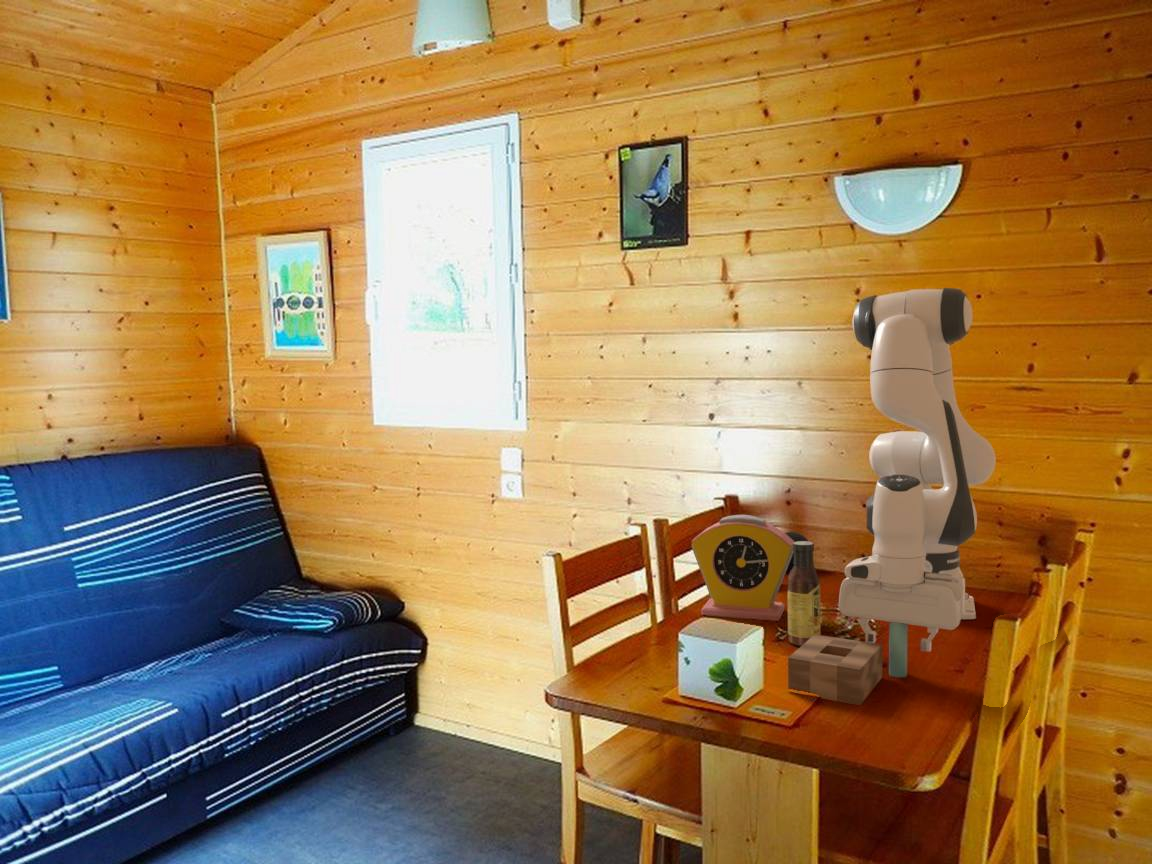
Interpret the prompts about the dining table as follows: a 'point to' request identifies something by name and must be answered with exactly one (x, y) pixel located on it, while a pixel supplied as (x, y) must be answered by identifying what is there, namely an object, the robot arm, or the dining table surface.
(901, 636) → the peg
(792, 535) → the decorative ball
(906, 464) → the robot arm
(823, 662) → the hole block
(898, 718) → the dining table surface
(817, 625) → the sauce bottle
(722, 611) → the yellow mantel clock
